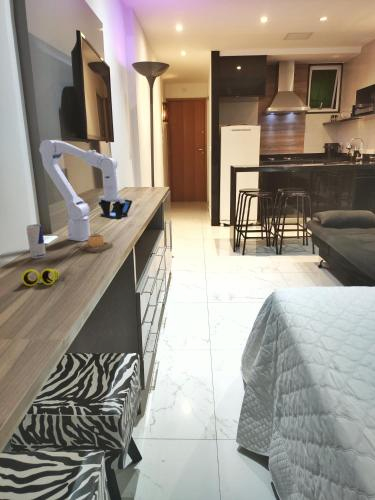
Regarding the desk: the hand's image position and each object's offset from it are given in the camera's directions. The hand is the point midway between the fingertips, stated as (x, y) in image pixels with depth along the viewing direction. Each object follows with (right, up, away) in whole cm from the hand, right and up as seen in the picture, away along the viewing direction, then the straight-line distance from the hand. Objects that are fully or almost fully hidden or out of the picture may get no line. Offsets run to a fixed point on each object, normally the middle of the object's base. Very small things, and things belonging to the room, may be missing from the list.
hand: (113, 218), depth 158 cm
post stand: (-4, -13, -11) cm, 18 cm away
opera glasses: (-12, -24, -46) cm, 54 cm away
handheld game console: (-10, +6, +57) cm, 58 cm away
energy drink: (-24, -16, -20) cm, 35 cm away
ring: (-4, -12, -11) cm, 17 cm away
